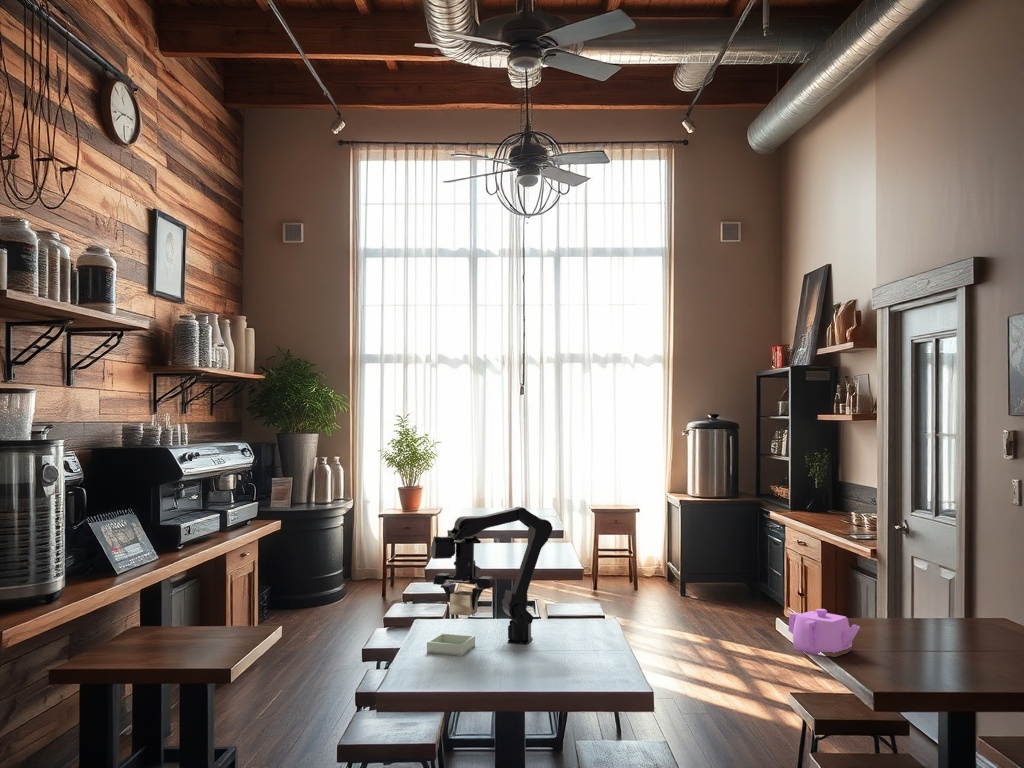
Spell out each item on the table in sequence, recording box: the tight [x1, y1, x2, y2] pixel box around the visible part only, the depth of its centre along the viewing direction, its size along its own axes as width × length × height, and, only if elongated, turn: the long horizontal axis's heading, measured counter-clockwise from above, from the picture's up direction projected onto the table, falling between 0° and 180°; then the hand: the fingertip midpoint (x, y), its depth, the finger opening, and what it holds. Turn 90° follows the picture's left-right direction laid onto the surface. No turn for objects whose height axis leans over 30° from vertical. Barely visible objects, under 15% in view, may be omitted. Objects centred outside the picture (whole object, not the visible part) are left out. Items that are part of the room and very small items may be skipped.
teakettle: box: [788, 608, 861, 656], centre depth 247 cm, size 17×17×12 cm
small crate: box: [449, 590, 478, 617], centre depth 253 cm, size 6×6×6 cm
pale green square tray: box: [426, 633, 476, 657], centre depth 249 cm, size 11×11×3 cm
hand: (463, 608), depth 253 cm, fingers closed on small crate, 6 cm apart
